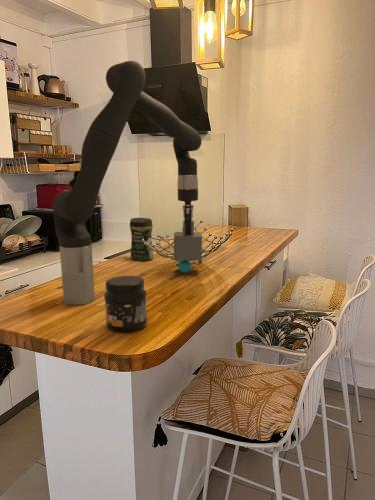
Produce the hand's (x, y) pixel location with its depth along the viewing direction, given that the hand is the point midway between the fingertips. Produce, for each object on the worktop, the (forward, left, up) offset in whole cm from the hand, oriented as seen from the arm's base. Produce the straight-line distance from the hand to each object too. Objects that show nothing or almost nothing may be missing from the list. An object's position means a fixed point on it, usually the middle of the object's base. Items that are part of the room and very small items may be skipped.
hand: (188, 233), depth 148 cm
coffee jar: (+23, +21, -15) cm, 35 cm away
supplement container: (-52, +15, -15) cm, 56 cm away
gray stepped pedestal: (0, 0, -9) cm, 9 cm away
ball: (0, +2, -13) cm, 13 cm away
